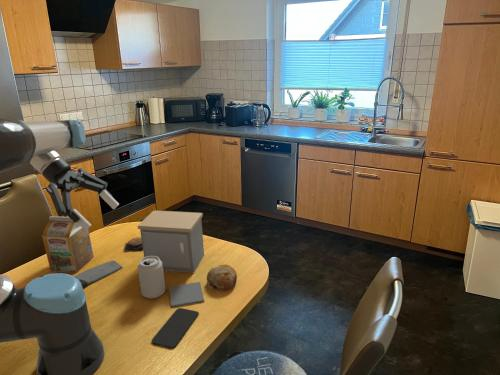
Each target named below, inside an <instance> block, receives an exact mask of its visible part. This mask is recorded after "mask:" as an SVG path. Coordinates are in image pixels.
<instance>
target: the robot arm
mask: <svg viewBox="0 0 500 375" xmlns="http://www.w3.org/2000/svg"><path fill="white" fill-rule="evenodd" d="M86 139H87V138H86V129H85V126H84V124H83V122H82V121H81V120H80V119H67V120H66V119H65V120H44V121H40V120H39V121H25V120H21V119H17V118H15V117H11V116H10V117H8V116H7V117H6V116H5V117H3V116H0V173H3V172H6V171H9V170H11V169H14V168H19V167H22V166H23V165H25V164H27V163H28V162H29V164H30V165H31V166H32V167H33V168H34V169H35V170H36V171H37V172H38V173H41V176H43V178H44V179H46V180H47V181H48V183H49V184H48V185H47V186H46V188H45V191H46V192H47V193H48V195H49V196H50V199H51V201H52V203H53V206H54V209H55V212H56V213H57V217H69V218H70V219H72V220H73V222H75V223H76V222H77V223H78V224H79V225H80V226H81V227H82V228H83V229H84V230H85V231H86V230H87V229H88V230H89V228H90V227H92V224H91V223H90V221H89V220H87V219H86V218H85V217H84V216H83V215H82V214H81V213H80V211H78V210H77V209H76V208H74V209H73V206H72V199H71V192H72V191H73V190H76V189H77V188H79V189H81V188H82V189H86V190H89V191H93V192H96V193H99V194H98V196H99V197H101V199H102V200H104V202H105V203H107V205H109V206H110V208H111V209H112V210H116V208H117V207H118V206H119V205H120V203H119V202H118V201H117V200H116V199H115V198H114V197H113V195H112V194H111V192H109V191H108V190H107V187H108V182H106V181H104V180H102V179H100V178H98V177H96V176H95V175H93V174H91V173H88V172H87V171H86V170H84V168H82V167H79V168H78V169H77V170H76V171H74V170H72V166H71V165H70V164H69V163H68V162H67V161H66V160H65V158H62V155H60V153H58V152H57V151H59V150H63V149H71V148H72V149H74V148H80V147H81V148H82V147H83V146H85V144H86V141H87V140H86ZM59 192H60V193H59ZM74 276H75V275H71V274H68V273H64V272H61V273H60V272H57V273H56V272H55V273H54V272H53V273H48V274H44V275H42V277H40V276H38V277H35V278H33V279H31V281H29V282H28V283H27V285H26V286H24V287H15V285H14V283H13V281H12V279H11V278H10V277H9V276H7V275H4V274H0V344H2V343H8V342H15V341H23V340H30V339H36V340H37V344H38V353H37V354H38V355H37V360H36V374H37V375H93V374H94V373H95V372H96V371H97V370H98V369H99V368H100V366H101V365H102V363H103V361H104V358H105V349H104V344H103V342H102V340H101V339H100V337H99V336H98V335H97V333H96V332H95V331H94V328H92V325H91V319H90V314H89V310H88V305H87V301H86V300H87V298H86V293H85V291H84V288H82V285H81V283H80V281H79V280H78V279H76V278H75V277H74Z"/></svg>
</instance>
